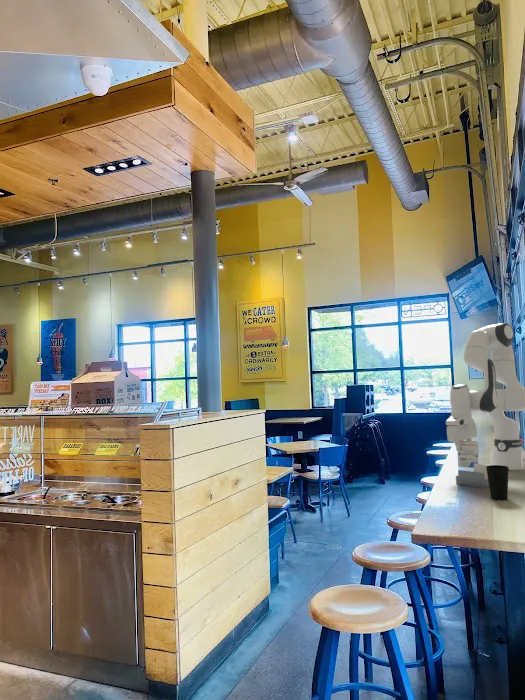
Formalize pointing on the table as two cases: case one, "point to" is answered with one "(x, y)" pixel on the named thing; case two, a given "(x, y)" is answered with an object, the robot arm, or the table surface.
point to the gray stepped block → (472, 479)
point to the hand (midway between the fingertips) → (463, 449)
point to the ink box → (468, 454)
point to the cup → (498, 481)
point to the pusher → (481, 469)
